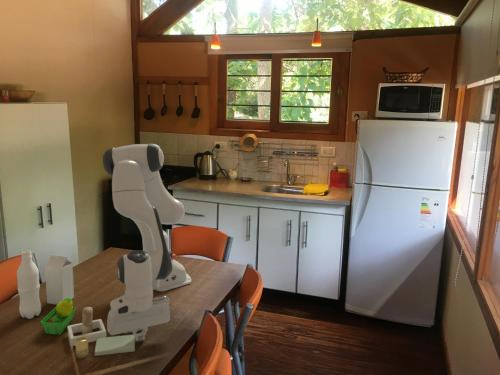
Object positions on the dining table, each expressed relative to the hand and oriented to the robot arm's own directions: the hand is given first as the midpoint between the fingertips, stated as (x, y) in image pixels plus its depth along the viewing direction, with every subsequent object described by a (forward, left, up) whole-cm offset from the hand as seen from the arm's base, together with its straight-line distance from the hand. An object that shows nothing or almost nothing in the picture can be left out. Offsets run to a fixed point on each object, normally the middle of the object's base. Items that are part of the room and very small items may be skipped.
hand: (139, 339), depth 140 cm
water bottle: (+31, -36, -2) cm, 48 cm away
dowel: (+15, -11, -1) cm, 19 cm away
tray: (+15, -11, -2) cm, 19 cm away
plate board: (+8, -1, -2) cm, 8 cm away
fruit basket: (+22, -22, -2) cm, 31 cm away
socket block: (0, -10, -2) cm, 10 cm away
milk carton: (+20, -44, -2) cm, 49 cm away
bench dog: (+18, 0, -2) cm, 18 cm away
